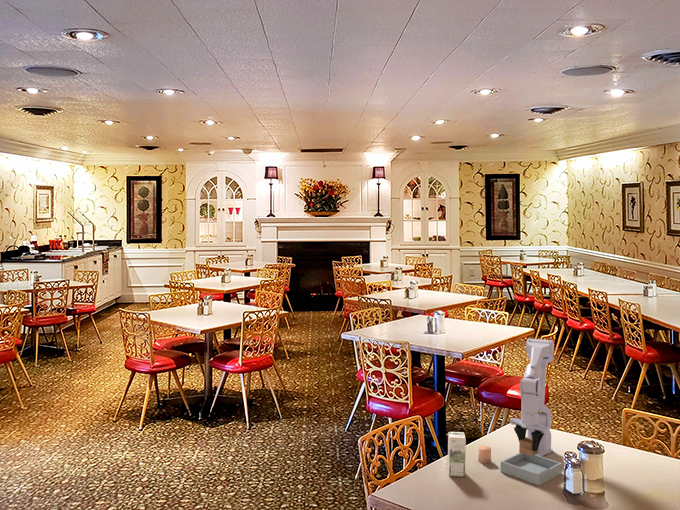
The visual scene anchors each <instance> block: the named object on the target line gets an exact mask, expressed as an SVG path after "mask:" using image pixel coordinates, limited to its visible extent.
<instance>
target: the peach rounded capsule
mask: <svg viewBox="0 0 680 510" xmlns="http://www.w3.org/2000/svg"><path fill="white" fill-rule="evenodd" d="M478 462H479V463H480V464H483V465H488V464H491V462H492V447H490V446H486V445H481V446H479V447H478Z"/></svg>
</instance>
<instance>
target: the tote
mask: <svg viewBox="0 0 680 510" xmlns="http://www.w3.org/2000/svg"><path fill="white" fill-rule="evenodd" d="M562 463H563V462H558V461H556V460H553V459H550V458H547V457H544V456H542V457H541V456H538V455H533V456H528V455H525V454H522V453H516V454H514V455H512V456H510V457H507V458H506V459H505V458H504V459H503V460H500V473H502V474H505V475H509V476H510V477H513V476H514V478H516V479H519V478H520V479H519V480H521V479H522V481H524V482H527V483H531V484H532V483H533V485H535V486H538V487H540V486H541V485H543V484H545V483H547V482H549V481H550V480H552V479H554V478H556V477H558V476H560V475H562V470H563V469H562V467H563V465H562Z"/></svg>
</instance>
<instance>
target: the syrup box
mask: <svg viewBox="0 0 680 510" xmlns="http://www.w3.org/2000/svg"><path fill="white" fill-rule="evenodd" d="M447 433H448V434H447V436H448V437H447V471H448V476H449V477H456V478H465V477H466V453H467V452H466V449H467V446H466V445H467V439H466V436H465V432H462V431H461V432H460V431H449V432H447Z"/></svg>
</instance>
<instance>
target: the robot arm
mask: <svg viewBox="0 0 680 510" xmlns="http://www.w3.org/2000/svg"><path fill="white" fill-rule="evenodd" d="M525 343H526V345H525V347H526V348H525V352H526V353H527V354H526V355H527V357H528V360H529V364H527V365H526V367H525V371H524V373H523V374H524V375H523V378H521V379H520V383H519V392H520V399H521V407H520V408H521V411H520V418H521V419H520V418H515V417H512V418H510V423H509V424H510V425H515V427H513V430H514V432H515V434H516V436H517V440H518V442H519V444H520V440H521V439H523V438H526V436H527V437H528V438H531V439H532V440H533V451H537V450H538V453H537V454H535V455H538V456H541V457H544V456H546V455H548V454H550V453H552V452H554V449H553V448H552V433H551V428H552V411H551V408H549V407H548V406H546V404H545V397H546V379H547V367H548V364H549V363H551V362H553V360H554V353H555V352H554V351H555V350H554V349H555V342H554V340H552V339H550V340H549V339H540V338H538V339H537V338H530V337H528V338H527V339H526V342H525Z"/></svg>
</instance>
